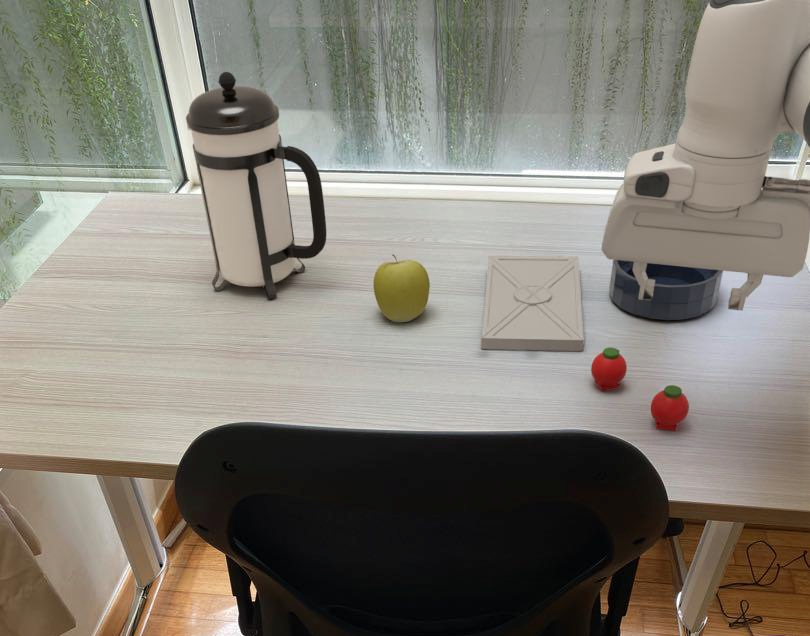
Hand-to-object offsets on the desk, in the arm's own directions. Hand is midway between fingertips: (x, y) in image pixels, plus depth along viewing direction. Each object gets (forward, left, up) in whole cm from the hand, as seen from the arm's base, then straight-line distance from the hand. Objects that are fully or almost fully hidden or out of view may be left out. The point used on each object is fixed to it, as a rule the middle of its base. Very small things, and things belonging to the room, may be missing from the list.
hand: (689, 302), depth 95 cm
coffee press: (+63, -25, -16) cm, 70 cm away
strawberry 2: (+8, -7, -16) cm, 19 cm away
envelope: (+21, -25, -16) cm, 36 cm away
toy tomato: (0, 0, -16) cm, 16 cm away
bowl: (+3, -32, -16) cm, 36 cm away
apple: (+39, -19, -16) cm, 46 cm away
